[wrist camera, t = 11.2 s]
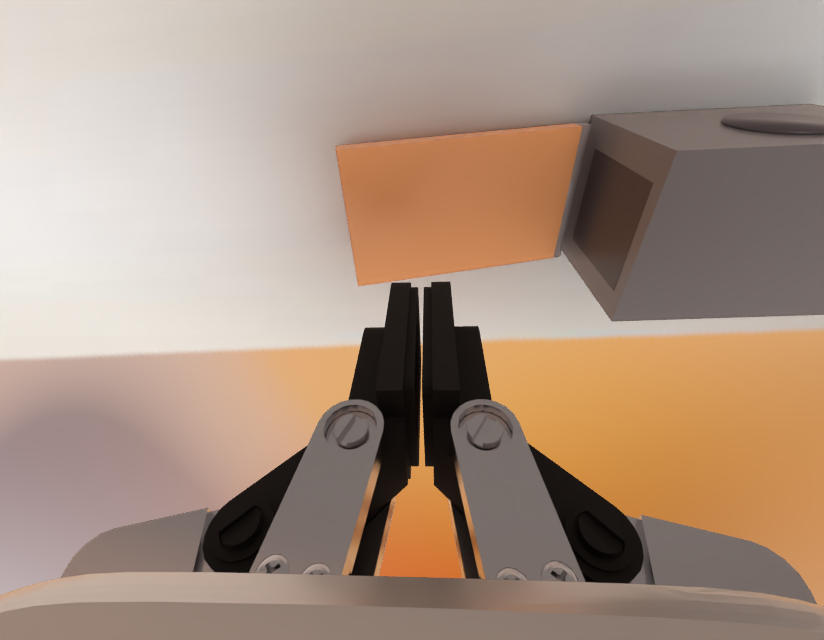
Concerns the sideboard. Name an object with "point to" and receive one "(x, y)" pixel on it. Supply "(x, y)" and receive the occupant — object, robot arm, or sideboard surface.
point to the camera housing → (702, 213)
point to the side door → (459, 200)
